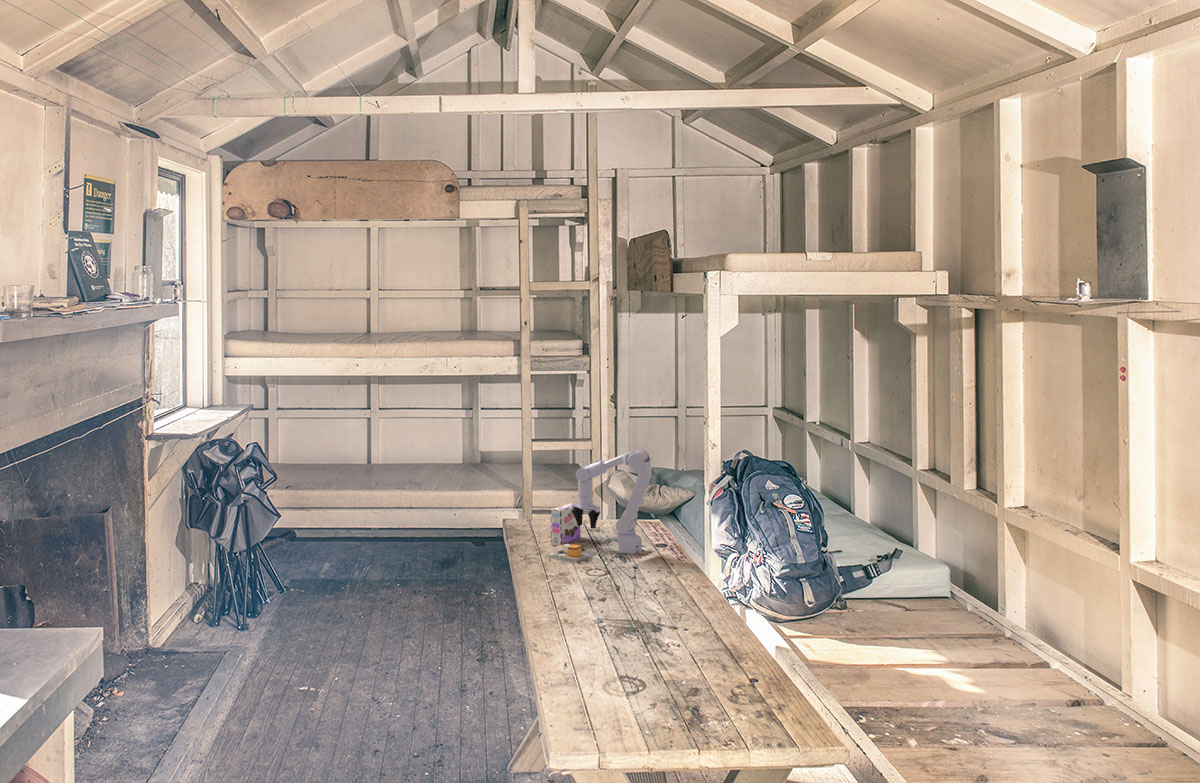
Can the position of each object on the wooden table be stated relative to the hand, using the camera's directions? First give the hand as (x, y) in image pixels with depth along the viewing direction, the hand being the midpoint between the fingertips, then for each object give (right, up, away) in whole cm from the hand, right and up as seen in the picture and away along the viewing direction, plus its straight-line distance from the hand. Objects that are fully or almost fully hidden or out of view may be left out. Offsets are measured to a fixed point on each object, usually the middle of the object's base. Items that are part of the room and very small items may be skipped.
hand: (586, 526), depth 395 cm
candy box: (-9, -10, +15) cm, 20 cm away
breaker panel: (-5, -12, -10) cm, 16 cm away
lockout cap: (-4, -11, -15) cm, 19 cm away
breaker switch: (-8, -10, -7) cm, 14 cm away
